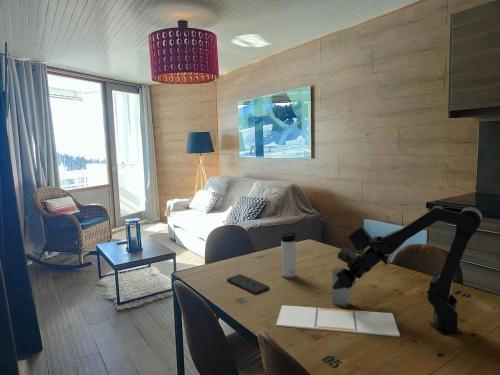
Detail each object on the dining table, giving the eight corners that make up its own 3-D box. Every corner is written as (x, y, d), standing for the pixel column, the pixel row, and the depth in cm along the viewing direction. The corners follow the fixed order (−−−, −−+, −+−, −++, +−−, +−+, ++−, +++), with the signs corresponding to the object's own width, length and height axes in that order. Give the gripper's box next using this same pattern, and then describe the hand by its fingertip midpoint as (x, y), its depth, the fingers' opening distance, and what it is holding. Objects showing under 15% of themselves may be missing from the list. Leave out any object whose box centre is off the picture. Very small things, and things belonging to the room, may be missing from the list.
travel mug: (296, 279, 154) (295, 235, 151) (281, 278, 155) (280, 234, 153) (297, 274, 160) (296, 231, 158) (283, 273, 161) (281, 231, 159)
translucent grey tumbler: (349, 303, 129) (349, 269, 128) (345, 307, 126) (345, 272, 124) (336, 300, 132) (336, 267, 130) (332, 304, 129) (332, 270, 127)
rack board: (392, 314, 119) (392, 313, 119) (399, 336, 106) (399, 334, 106) (282, 306, 128) (282, 305, 128) (276, 325, 115) (276, 324, 115)
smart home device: (254, 292, 139) (225, 278, 154) (255, 296, 139) (226, 282, 155) (270, 286, 144) (240, 273, 160) (270, 290, 144) (240, 277, 160)
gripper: (360, 236, 131) (332, 259, 139) (342, 249, 116) (312, 274, 124) (381, 259, 128) (352, 282, 135) (365, 276, 113) (333, 300, 120)
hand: (337, 284), depth 129 cm, fingers open, 8 cm apart
